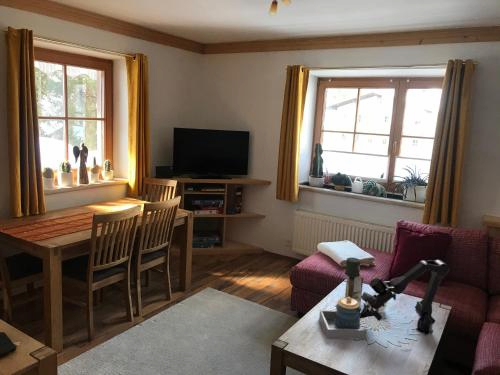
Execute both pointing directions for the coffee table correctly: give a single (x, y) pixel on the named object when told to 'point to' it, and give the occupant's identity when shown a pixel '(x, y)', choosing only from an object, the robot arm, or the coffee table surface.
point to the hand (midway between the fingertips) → (359, 317)
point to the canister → (348, 314)
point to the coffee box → (355, 288)
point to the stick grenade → (352, 272)
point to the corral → (339, 333)
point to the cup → (382, 308)
